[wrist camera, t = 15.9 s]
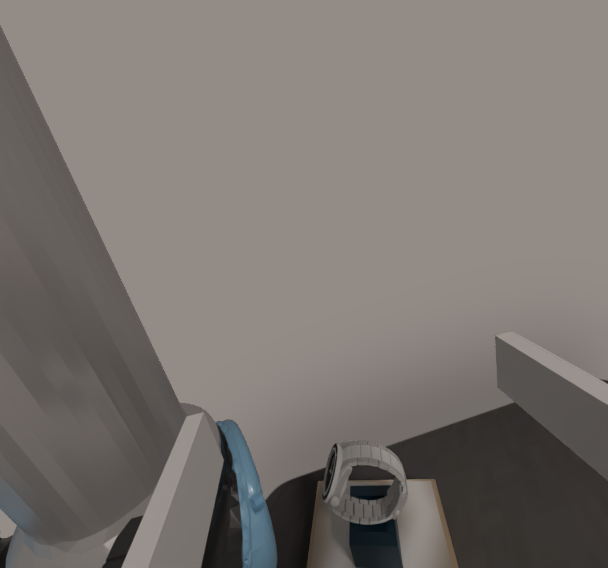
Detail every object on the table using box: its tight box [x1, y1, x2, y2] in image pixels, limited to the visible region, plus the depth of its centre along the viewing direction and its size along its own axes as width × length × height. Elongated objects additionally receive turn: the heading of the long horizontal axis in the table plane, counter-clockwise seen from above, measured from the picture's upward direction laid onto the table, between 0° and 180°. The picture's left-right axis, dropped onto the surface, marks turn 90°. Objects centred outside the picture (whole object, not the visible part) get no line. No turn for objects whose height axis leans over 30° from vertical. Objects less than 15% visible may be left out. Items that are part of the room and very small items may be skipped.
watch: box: [322, 440, 408, 568], centre depth 27 cm, size 6×8×11 cm
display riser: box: [307, 479, 458, 568], centre depth 29 cm, size 14×12×4 cm
